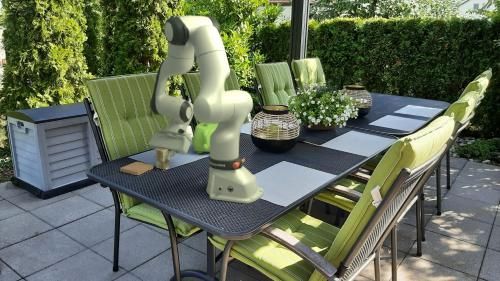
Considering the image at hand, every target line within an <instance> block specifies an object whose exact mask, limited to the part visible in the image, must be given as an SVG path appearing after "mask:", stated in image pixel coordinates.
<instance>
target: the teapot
mask: <svg viewBox="0 0 500 281" xmlns="http://www.w3.org/2000/svg"><path fill="white" fill-rule="evenodd" d="M217 126H218V123H215V124H206V123H201V122H199V123H198V124H197V125H196V126H195V128H194V132H193V134H192V140H191V141H192V142H191V144H192V147H193V149H194V150H195V152H196V154H197V153H202V154H203V153H204V152H206V153H207V152H209V153H210V136H211V134H212V133H213V132H214V130H215V129H216V128H217Z"/></svg>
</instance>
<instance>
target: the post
mask: <svg viewBox="0 0 500 281" xmlns="http://www.w3.org/2000/svg"><path fill="white" fill-rule="evenodd" d="M155 154H156V159H155V160H156V169H157V168H160V169H163V170H162V171H165V170H164V169H166V168H168V169H170V168H169V167H170V161H169V160H166V159H165V158H166V156H167V155H169V154H170V152H169V149H165V148H160V149H157V150H155ZM166 170H167V169H166Z"/></svg>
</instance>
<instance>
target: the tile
mask: <svg viewBox="0 0 500 281" xmlns="http://www.w3.org/2000/svg"><path fill="white" fill-rule="evenodd" d="M154 166H155V165H153V164H149V163H145V162H140V161H135V162H133V163H129V164H127V165H125V166H122V167H120V172H121V171H123V172H127V173H131V174H134V175H140V174H142V173H144V172H146V171H148V170H151V169H153V168H154ZM142 175H143V174H142ZM140 176H141V175H140Z"/></svg>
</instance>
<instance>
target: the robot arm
mask: <svg viewBox="0 0 500 281" xmlns="http://www.w3.org/2000/svg"><path fill="white" fill-rule="evenodd" d="M163 27H164V28H163V31H164V32H163V33H164V37H165V39H166V41H167V42H168V43H167V54H166V55H167V56H166V58H165V60H163V61H161V62H160V64H159V66H158V69H157V71H156V72H157V73H156V78H155V82H154V88H153V93H152V95H151V97H150V100H149V108H150V110H151V112H152V113H153V114H154V115H158V116H163V117H167V118H171V119H170V120H169V122H168V124H167V125H166V128H165V129H164V130H157V131H155V133H154V134H153V135H152V136H151V137H150V140H149V141H148V146H149V147H150V148H151V149H154V150H155V151H156V150H157V149H160V148H165V149H169V155H167V156H166V158H165V159H166V160H169V162H170V160H171V159H172V158H173V157H174V156H175V155H176V154H181V155H186V154H187V153H188V151H189V149H190V146H191V141H192V140H193V136H191V135H190V133H189V132H188V131H187V128H188V126H189V125H190V123H191V121H192V119H193V116H194V118H195V119H196V120H197V122H199V123H206V124H215V123H217V124H218V126H217V128H216V129H215V130H214V132H213V133H212V134H211V136H210V152H209V155H208V168H209V173H208V181H207V186H206V189H205V192H206V194H208V196H209V198H210V200H217V201H218V200H219V201H225V202H233V203H240V204H251V203H254V202H256V201H258V200H259V199H261V197H263V195H264V189H263V188H262V187H259V185H258V179H257V177H256V176H255V175H254V174H253V173H251V171H250V170H248V169H247V168H246V167H245V166H244V164H243V163H244V162H245V158H244V157H243V159H242V158H241V156H240V154H239V152H240V150H239V149H240V135H241V131H242V128H243V125H244V123H245V120H246V119H247V117H248V116H249V114H250V113H252V110H253V108H254V103H253V98H252V95H251V94H250V93H249V92H247V91H245V90H239V89H231V90H226V89H225V83H226V80H227V78H228V77H229V76H230V74H231V68H230V64H229V60H228V57H227V53H226V52H227V51H226V49H225V45H224V43H223V40H222V37H221V26H220V23H219V22H218V19H216V18H215V17H214V16H210V15H205V16H204V15H193V14H192V15H191V14H189V15H181V16H177V15H175V16H172V17H169V18H168V19H166V20H165V23H164V26H163ZM195 59H196V62H197V66H198V71H199V75H200V87H199V88H200V89H199V93H198V95H197V97H196V98H195V99H194V102H193V103H192V102H190V101H188V100H186V99H184V98H180V97H176V96H172V95H169V94H167V93H166V88H167V82H168V79H169V77H176V76H181V75H184V74H187V73H188V72H189V71H191V69H192V68H193V66H194V63H195V62H194V60H195ZM154 158H156V153H155V154H154Z"/></svg>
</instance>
